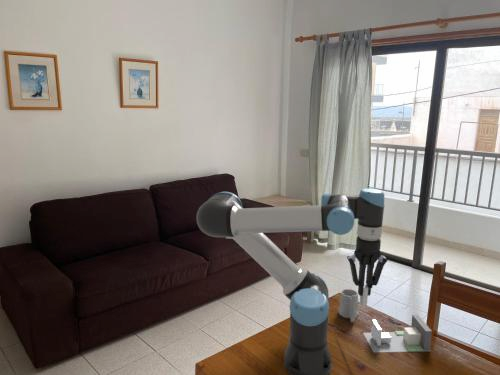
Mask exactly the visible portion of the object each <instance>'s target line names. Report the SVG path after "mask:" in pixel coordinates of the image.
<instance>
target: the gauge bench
mask: <svg viewBox="0 0 500 375" xmlns="http://www.w3.org/2000/svg"><path fill="white" fill-rule="evenodd" d="M411 317H412V318H411V323H410V324H411V325H410V327H416V329H417V330H418V331H419V332H420V334H421V338H420V345H408V344H407V343H406V341H405V340H404V338H403V334H404V330H395V331H389V332H388V331H387V332H388V333H389V335H390V337H391V343H381V346H377V345H376V343H375V341H374V340H373V338H372V336H371V332H362V333H363V336H364V337H365V339H366V341H367V342H368V345H369V347H370V348H371V350H372V352H373V353H403V352H404V353H406V352H407V353H411V352H413V353H414V352H415V353H416V352H431V344H432V335H433V334H432V333H433V330H432V329H431V328H430V327H429V326H428V324H426V322H425V321H424V320H423V319H422V318H421V317H420V315H419V314H412V315H411ZM384 332H385V331H382V333H384Z"/></svg>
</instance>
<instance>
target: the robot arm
mask: <svg viewBox="0 0 500 375" xmlns="http://www.w3.org/2000/svg"><path fill="white" fill-rule="evenodd" d="M320 201H321V203H320V205H319V204H318V205H297V206H296V205H295V206H294V205H292V206H290V205H289V206H270V207H269V206H267V207H250V208H249V207H247V208H244V207H243V203H242V201H241V199H240V197H239V196H237V195H236V194H235V193H233V192H231V191H230V192H229V191H221V192H217V193H215V194H212V196H211V197H210V198H209V199H207V201H205V202H204V203H202V204H201V205H200V207H199V208H198V210H197V212H196V224H197V226H198V229H199V230H200V231H201V232H202V233H203V234H205V235H207V236H209V237H213V238H225V239H232V240H233V241H235V243H236V244H238V245H239V246H240V247H241V248H242V249H243V250H244V252H246V254H248V255H249V256H250V257H251V258H252V259H253V260H254V261H255V262H256V263H258V265H260V267H261V268H263V269H264V270H265V271H266V272H267V273H268V275H270V277H272V278H273V279H274V280H275V281H276V282H277V283H278V284H279V285H280V286H281V287H282V294H283V295H284V296H285V297H286V298H287V299H288V300H289V311H290V312H289V318H290V319H289V342H288V344H287V345H286V346H287V347H286V349H285V352H284V355H283V366H284V369H285V371H286V372H288V373H289V374H290V375H330V374H331V372H332V369H333V368H332V366H333V359H332V356H331V353H330V348H329V345H328V332H329V331H328V328H329V326H328V325H329V312H330V305H329V304H330V303H329V288H328V285H327V283H326V281H325V280H324V279H323V277H321V276H320V275H319V274H317V273H314V272H313V273H312V272H310V271H309V270H308V269H307V268H303V267H302V268H300V267H299V266H298V265H297V264H296V263H295V262H294V261H293V260H292V259H291V258H289V257H288V256H287V255H286V254H285V253H284V252H283V251H282V250H281V249H280V248H279V247H278V246H277V245H276V244H275V243H274V242H273V241H272V240H271V239H270V238H269V237H268V236H267V235H266V234H267V233H268V234H269V233H270V234H271V233H292V232H293V233H294V232H295V233H296V232H297V233H298V232H324V231H325V232H329V231H330V232H331V233H332V234H334V235H339V236H343V235H346V234H349V232H351V230H353V228H354V225H355V219H357V230H356V235H357V236H356V241H355V250H354V252H353V254H351V255H347V256H346V259H347V261H348V262H349V267H350V271H351V272H350V273H351V277H352V282H353V283H354V286H356V287H358V288H357V289H358V290H357V293H358V296H359V303H360V304H361V306H362V307H367V305H368V298H369V296H371V293H372V292H371V291H372V289H373V286H377V285H378V284H379V281H380V277H381V274H382V271H383V269H384V266H385V265H386V263H387V262H388V258H387V257H386V256H385V255H382V253H381V247H382V246H381V243H382V239H381V238H382V233H383V232H382V231H383V220H384V212H385V193H384V192H383V191H382V190H380V189H376V188H363V189H361V190H360V192H359V194H357V195H356V194H355V195H354V194H353V195H352V194H341V193H340V194H336V193H324V194H322V195H321V200H320ZM264 233H265V234H264ZM356 259H357V261H358V264H359V268H358V271H357V267H356ZM375 264H376V266H375ZM357 272H358V273H357Z"/></svg>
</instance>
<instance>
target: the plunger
mask: <svg viewBox="0 0 500 375" xmlns="http://www.w3.org/2000/svg"><path fill="white" fill-rule="evenodd" d="M382 332H384V333H382ZM370 333H371V336H372V338H373V340H374V341H375V343H376V345H377V346H381V343H391V337H390V335H389V333H388V331H386V332H385V331H383V330H382V328H381V326H380V325H379V323H378V321H377V320H376V319H372V320H371V330H370Z"/></svg>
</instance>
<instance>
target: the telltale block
mask: <svg viewBox="0 0 500 375" xmlns="http://www.w3.org/2000/svg"><path fill="white" fill-rule="evenodd" d="M403 331H404V334H403V338H404V340H405V341H406V343H407V344H408V345H420V338H421V334H420V332H419V331H418V330H417V329H416V327H411V326H409V327H403Z"/></svg>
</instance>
